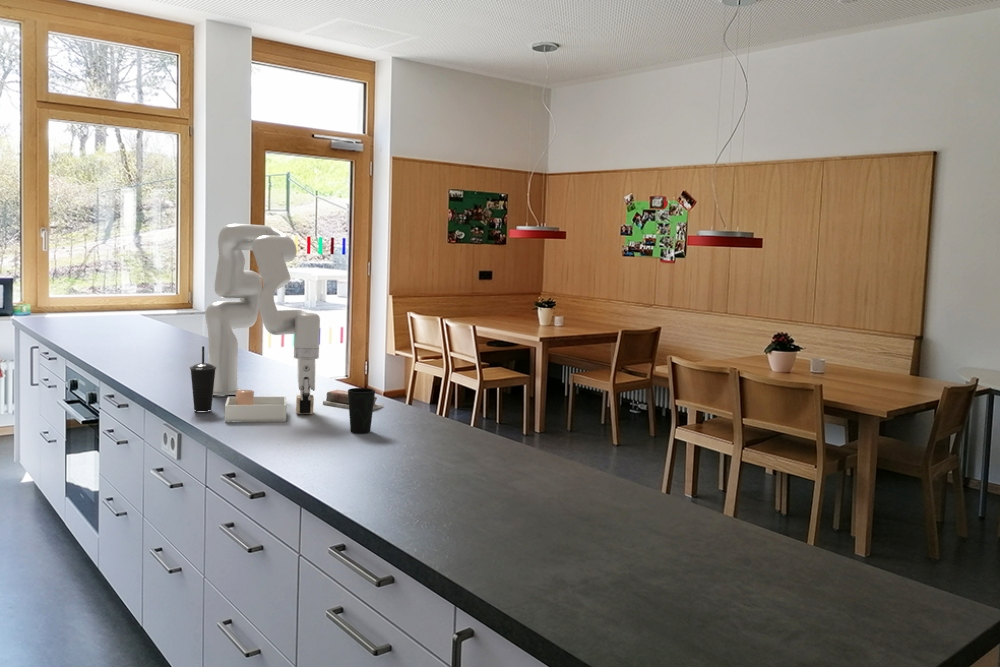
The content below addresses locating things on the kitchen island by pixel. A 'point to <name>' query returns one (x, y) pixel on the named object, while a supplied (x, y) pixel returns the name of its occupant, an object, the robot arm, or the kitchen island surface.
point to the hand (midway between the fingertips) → (304, 410)
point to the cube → (299, 404)
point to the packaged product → (342, 400)
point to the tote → (257, 410)
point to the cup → (360, 409)
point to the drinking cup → (202, 384)
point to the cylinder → (244, 397)
